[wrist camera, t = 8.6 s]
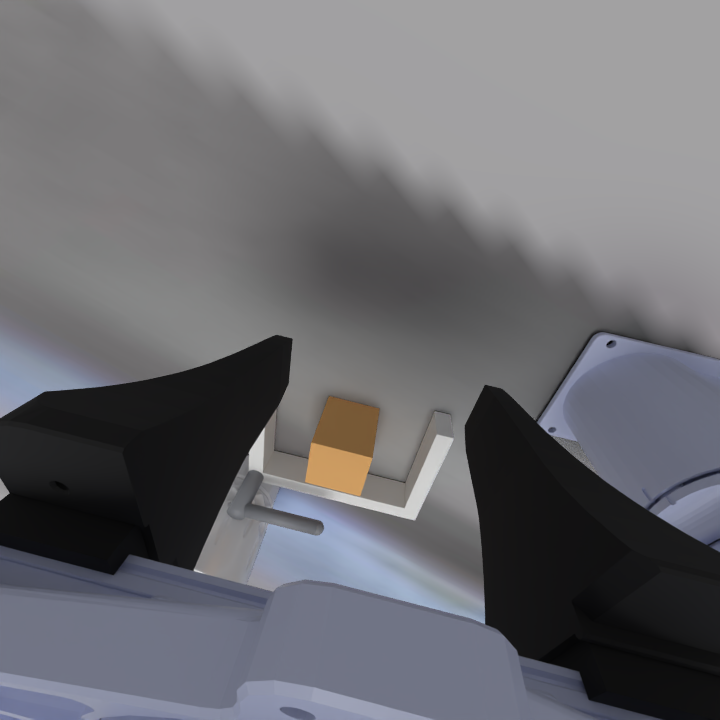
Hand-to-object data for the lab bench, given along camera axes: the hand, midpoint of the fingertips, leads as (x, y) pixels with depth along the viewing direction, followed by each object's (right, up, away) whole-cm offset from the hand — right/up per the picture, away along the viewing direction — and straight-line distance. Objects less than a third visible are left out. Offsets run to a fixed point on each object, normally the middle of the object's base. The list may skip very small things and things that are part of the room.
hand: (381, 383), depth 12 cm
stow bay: (-2, -5, +14) cm, 15 cm away
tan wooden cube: (-2, -4, +14) cm, 14 cm away
